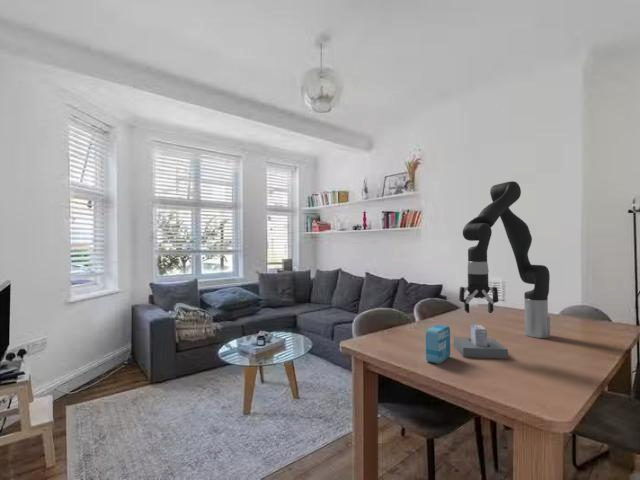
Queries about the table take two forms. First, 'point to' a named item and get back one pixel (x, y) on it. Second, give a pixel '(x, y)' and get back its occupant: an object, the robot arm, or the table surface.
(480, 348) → the grey slotted block
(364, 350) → the table surface
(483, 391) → the table surface
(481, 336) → the medicine box
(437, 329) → the blue printed box
